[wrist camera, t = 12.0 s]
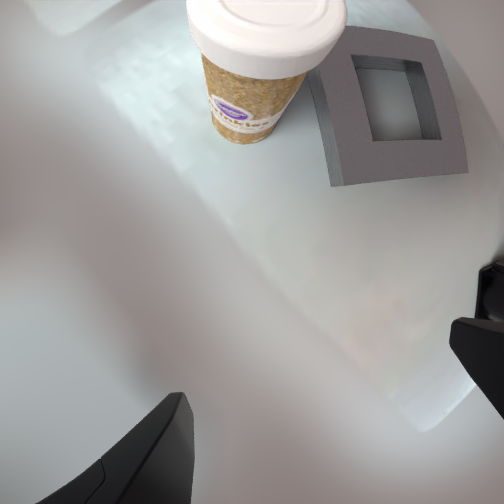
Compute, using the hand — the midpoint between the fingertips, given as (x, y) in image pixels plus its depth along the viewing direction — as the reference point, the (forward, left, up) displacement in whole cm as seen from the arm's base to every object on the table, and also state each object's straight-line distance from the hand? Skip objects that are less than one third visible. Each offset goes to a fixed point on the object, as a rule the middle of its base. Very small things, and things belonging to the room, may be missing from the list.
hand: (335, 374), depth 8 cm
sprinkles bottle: (+11, 0, -13) cm, 17 cm away
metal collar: (+11, -11, -13) cm, 20 cm away
